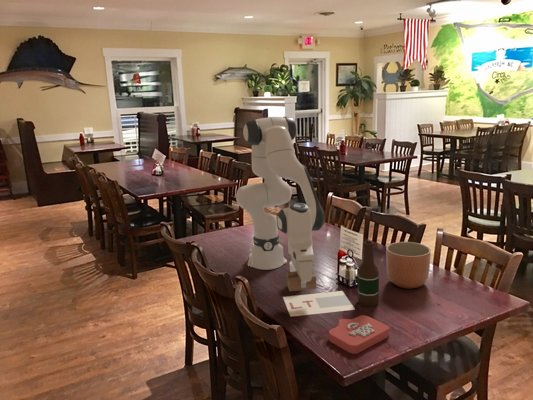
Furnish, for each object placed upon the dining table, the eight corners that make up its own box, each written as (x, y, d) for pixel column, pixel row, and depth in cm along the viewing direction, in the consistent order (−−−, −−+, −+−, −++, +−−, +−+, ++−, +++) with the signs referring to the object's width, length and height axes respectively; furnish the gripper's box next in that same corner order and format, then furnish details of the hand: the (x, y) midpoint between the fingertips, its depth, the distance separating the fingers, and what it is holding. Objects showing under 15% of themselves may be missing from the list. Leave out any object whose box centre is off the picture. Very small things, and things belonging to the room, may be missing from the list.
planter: (384, 274, 195) (385, 241, 192) (426, 276, 192) (427, 242, 188) (386, 291, 179) (387, 255, 175) (431, 293, 176) (433, 257, 172)
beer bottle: (353, 300, 173) (353, 240, 168) (370, 295, 176) (370, 237, 171) (365, 308, 166) (365, 247, 161) (382, 304, 169) (383, 243, 164)
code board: (282, 298, 177) (282, 296, 177) (342, 292, 180) (342, 290, 180) (290, 318, 162) (290, 316, 162) (355, 311, 165) (355, 309, 165)
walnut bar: (286, 284, 171) (286, 272, 170) (312, 281, 172) (312, 269, 171) (289, 291, 165) (289, 278, 164) (316, 288, 166) (316, 276, 165)
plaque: (357, 309, 159) (391, 325, 148) (357, 319, 160) (391, 336, 148) (320, 326, 149) (353, 345, 137) (320, 337, 150) (353, 356, 138)
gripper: (286, 239, 174) (287, 272, 178) (297, 258, 155) (298, 295, 158) (302, 237, 175) (303, 270, 179) (315, 257, 156) (315, 293, 159)
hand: (301, 282), depth 168 cm, fingers closed on walnut bar, 6 cm apart
